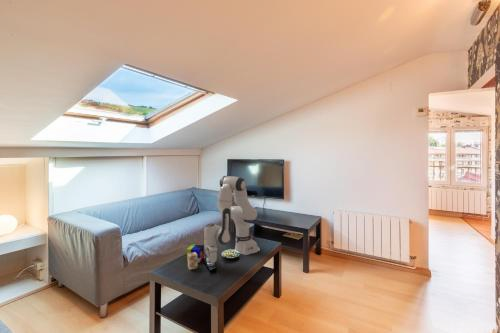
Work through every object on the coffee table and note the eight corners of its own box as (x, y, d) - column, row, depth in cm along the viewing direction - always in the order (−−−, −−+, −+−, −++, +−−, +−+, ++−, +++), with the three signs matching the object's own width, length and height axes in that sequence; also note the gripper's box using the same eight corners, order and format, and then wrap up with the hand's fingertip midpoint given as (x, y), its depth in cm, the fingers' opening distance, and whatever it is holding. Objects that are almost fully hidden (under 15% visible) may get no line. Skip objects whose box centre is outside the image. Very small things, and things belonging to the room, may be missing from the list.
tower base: (195, 264, 193) (195, 258, 192) (197, 268, 187) (197, 261, 187) (187, 266, 190) (187, 259, 190) (189, 269, 185) (189, 263, 184)
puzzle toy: (198, 262, 196) (198, 250, 196) (186, 261, 198) (186, 249, 198) (203, 257, 206) (203, 245, 206) (192, 256, 208) (192, 244, 208)
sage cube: (212, 263, 195) (212, 256, 195) (214, 265, 191) (214, 259, 191) (206, 264, 193) (206, 258, 193) (207, 267, 189) (207, 260, 188)
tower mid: (195, 258, 192) (195, 252, 192) (197, 261, 187) (197, 255, 186) (187, 259, 190) (187, 253, 189) (189, 263, 184) (189, 256, 184)
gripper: (202, 241, 199) (202, 258, 200) (209, 250, 181) (209, 269, 182) (210, 240, 202) (210, 257, 203) (218, 249, 183) (218, 267, 184)
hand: (210, 263), depth 192 cm, fingers closed on sage cube, 5 cm apart
